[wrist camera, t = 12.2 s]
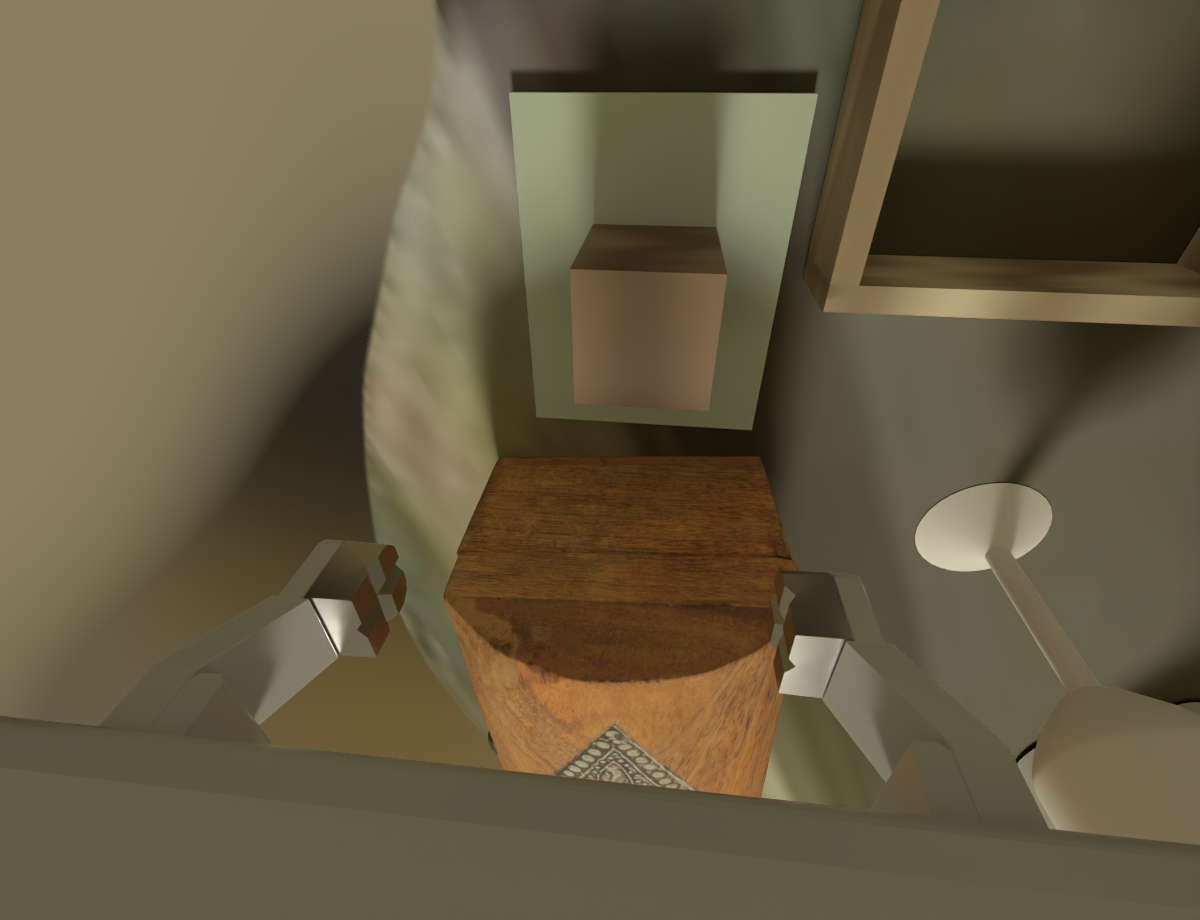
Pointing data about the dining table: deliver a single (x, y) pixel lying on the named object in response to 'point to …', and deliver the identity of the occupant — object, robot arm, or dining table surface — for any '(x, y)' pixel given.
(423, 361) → the dining table surface
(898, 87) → the birch u-shaped frame
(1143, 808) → the champagne flute
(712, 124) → the felt mat
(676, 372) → the walnut block
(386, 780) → the robot arm
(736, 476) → the wooden box
